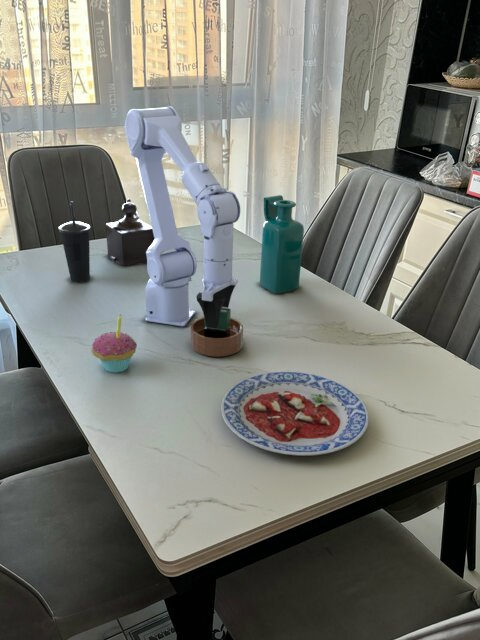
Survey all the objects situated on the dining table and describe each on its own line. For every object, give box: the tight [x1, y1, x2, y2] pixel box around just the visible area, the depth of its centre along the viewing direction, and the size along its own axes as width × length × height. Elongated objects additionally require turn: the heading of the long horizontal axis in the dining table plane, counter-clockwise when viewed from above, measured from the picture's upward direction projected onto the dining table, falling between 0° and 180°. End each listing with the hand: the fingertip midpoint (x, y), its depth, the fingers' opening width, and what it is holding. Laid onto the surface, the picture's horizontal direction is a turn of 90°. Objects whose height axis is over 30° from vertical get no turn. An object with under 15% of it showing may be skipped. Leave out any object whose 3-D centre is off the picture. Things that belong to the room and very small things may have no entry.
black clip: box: [204, 327, 230, 338], centre depth 127 cm, size 5×2×4 cm, turn 75°
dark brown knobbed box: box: [105, 198, 155, 267], centre depth 165 cm, size 16×11×18 cm
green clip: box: [204, 307, 232, 330], centre depth 125 cm, size 5×2×4 cm, turn 75°
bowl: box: [190, 316, 244, 358], centre depth 128 cm, size 11×11×4 cm
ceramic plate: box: [220, 371, 370, 457], centre depth 106 cm, size 26×26×3 cm
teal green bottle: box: [259, 194, 305, 294], centre depth 152 cm, size 10×8×22 cm
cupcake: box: [91, 313, 137, 373], centre depth 117 cm, size 9×8×12 cm
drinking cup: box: [58, 200, 91, 284], centre depth 152 cm, size 8×8×20 cm
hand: (217, 319), depth 126 cm, fingers open, 6 cm apart
